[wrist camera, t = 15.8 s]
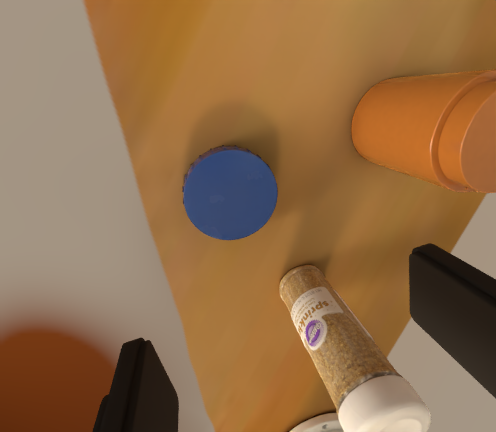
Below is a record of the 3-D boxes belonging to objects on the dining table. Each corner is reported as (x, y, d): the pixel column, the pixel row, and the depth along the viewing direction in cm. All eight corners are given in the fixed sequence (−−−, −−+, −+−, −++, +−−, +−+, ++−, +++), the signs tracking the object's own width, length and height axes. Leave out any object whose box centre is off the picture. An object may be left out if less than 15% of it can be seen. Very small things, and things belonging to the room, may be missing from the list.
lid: (194, 133, 20) (195, 137, 19) (283, 158, 22) (291, 163, 21) (174, 222, 22) (173, 232, 21) (257, 237, 24) (262, 247, 23)
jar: (417, 159, 24) (540, 193, 16) (347, 167, 23) (440, 207, 15) (431, 75, 22) (588, 62, 13) (354, 80, 21) (472, 69, 12)
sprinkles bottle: (286, 260, 26) (377, 408, 14) (330, 266, 27) (450, 406, 15) (271, 302, 27) (342, 469, 15) (314, 306, 28) (411, 463, 16)
